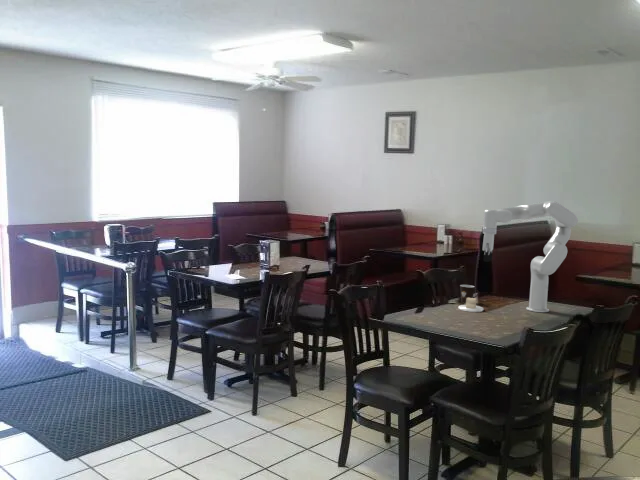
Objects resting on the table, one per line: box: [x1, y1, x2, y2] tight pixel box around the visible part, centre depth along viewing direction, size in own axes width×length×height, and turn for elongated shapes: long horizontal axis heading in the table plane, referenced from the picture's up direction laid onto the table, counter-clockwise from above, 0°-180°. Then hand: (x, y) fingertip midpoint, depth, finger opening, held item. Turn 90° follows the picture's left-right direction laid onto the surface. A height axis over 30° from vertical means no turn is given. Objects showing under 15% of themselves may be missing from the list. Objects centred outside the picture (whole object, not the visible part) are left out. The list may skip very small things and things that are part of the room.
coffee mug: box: [459, 284, 480, 304], centre depth 354 cm, size 12×9×10 cm
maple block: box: [465, 297, 477, 309], centre depth 334 cm, size 5×5×5 cm
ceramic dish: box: [457, 304, 484, 313], centre depth 334 cm, size 14×14×1 cm
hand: (487, 260), depth 334 cm, fingers open, 9 cm apart
